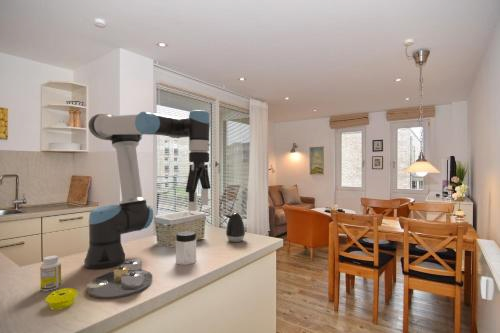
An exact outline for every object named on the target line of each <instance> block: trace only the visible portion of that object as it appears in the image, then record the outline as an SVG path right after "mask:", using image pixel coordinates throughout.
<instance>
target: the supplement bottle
mask: <svg viewBox="0 0 500 333" xmlns="http://www.w3.org/2000/svg"><path fill="white" fill-rule="evenodd" d="M39 268H40V269H39V270H40V276H39V277H40V290H41V291H42V290H43V292H49V291H48V290H51V291H54V290H58V289H59V288H61V285H62V262H61V260H59V256H58V255H50V256H49V255H48V256H45V257H44V258H43V259H42V264H41V265H40V267H39ZM53 289H54V290H53Z"/></svg>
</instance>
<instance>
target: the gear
mask: <svg viewBox="0 0 500 333" xmlns="http://www.w3.org/2000/svg"><path fill="white" fill-rule="evenodd" d="M77 295H79V290H77V289H75V288H72V287H65V288H64V287H63V288H60V289H59V288H57V289H54V290H52V291H51V293H50V294H48V295H47V297H45V299H44V301H45V302H46V303H48V308H49V307H50V308H53V309H58V310H61V309H60V308H63V309H66V308H69V307H70V305H71V304H72V305H73V304H75V301H76V300H75V297H76V296H77ZM72 305H71V306H72ZM68 306H69V307H68ZM65 307H66V308H65ZM50 308H49V309H50Z"/></svg>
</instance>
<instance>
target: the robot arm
mask: <svg viewBox="0 0 500 333" xmlns="http://www.w3.org/2000/svg"><path fill="white" fill-rule="evenodd" d="M188 114H189V115H188V117H181V118H180V117H175V116H171V115H170V116H169V115H166V114H165V115H164V114H160V113H154V112H152V111H151V112H150V111H141V112H139V113H138V114H125V115H124V114H123V115H113V114H108V113H98V114H95V115H92V117H91V118H90V119H89V121H88V127H87V128H88V129H89V132H90V133H91V134H92V135H93V136H94V137H95V138H97V139H100V140H103V141H111V146H112V147H113V148H114V149H115V150H116V152H115V153H116V160H117V169H118V175H119V176H118V177H119V184H120V185H119V186H120V193H121V201H120V202H119V203H118V204H109V205H103V206H99V207H96V208H94V209H92V210H91V211H90V212H89V216H88V217H89V218H88V232H89V233H88V237H89V241H88V242H89V245H88V246H89V247H88V249H87V253H86V257H85V258H84V264H83V265H84V268H86V269H90V270H102V269H108V268H112V267H116V266H117V267H118V266H120V265H122V263H123V262H125V261H126V253H125V250H124V248H123V246H122V235H124V234H128V233H132V232H138V231H139V232H140V231H142V230H145V229H147V228H148V227H150V225H151V224H152V223H153V221H154V210H153V207H152V206H151V205H150V204H149V203H147V199H146V198H145V197H143V194H142V185H141V180H140V179H141V178H140V177H141V176H140V169H139V161H138V154H137V147H138V145H139V144H140V143H139V142H140V141H141V140H142V139H143V135H151V136H152V135H153V136H154V135H155V136H164V137H170V138H171V139H181V138H189V140H188V141H189V142H188V150H189V151H190V152H189V153H188V161H189V162H190V163H193V164H189V170H188V171H189V172H188V176H187V180H186V181H187V182H186V187H185V193H188V206H187V207H188V208H187V210H188V211H197V209H198V208H197V206H198V205H197V204H198V203H197V192H196V191H197V188H198V184H199V182H200V185H201V189H200V190H201V192H200V205H201V206H209V190H210V189H211V182H210V177H209V176H210V174H209V170H208V169H209V166H208V164H206V163H209V162H210V153H209V151H210V146H211V143H210V126H211V122H210V121H211V120H210V113H209V112H208V111H207V110H201V109H199V110H198V109H193V110H191V111H190V112H189V113H188Z"/></svg>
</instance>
